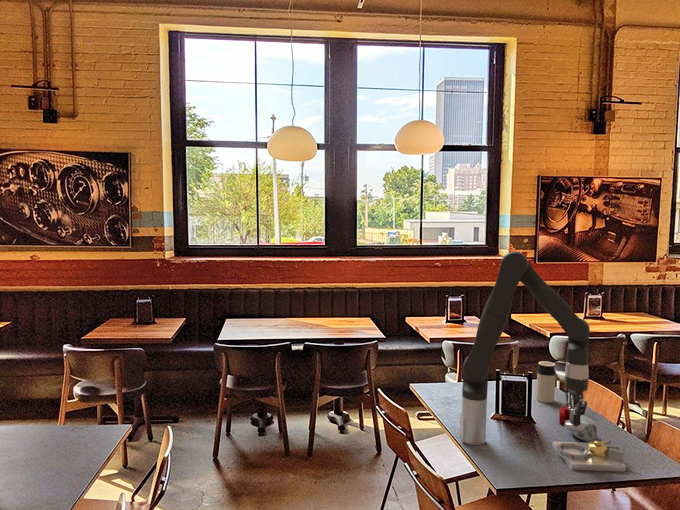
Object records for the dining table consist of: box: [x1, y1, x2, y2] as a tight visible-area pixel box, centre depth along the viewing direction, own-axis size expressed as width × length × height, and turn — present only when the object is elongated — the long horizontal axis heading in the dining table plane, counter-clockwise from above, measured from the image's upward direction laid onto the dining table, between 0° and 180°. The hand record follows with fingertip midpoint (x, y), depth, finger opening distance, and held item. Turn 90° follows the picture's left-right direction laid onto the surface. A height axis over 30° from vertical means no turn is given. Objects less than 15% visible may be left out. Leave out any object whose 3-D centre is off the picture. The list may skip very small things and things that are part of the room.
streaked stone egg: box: [569, 414, 598, 443], centre depth 203 cm, size 14×10×10 cm
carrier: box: [551, 438, 627, 473], centre depth 184 cm, size 21×18×6 cm
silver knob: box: [564, 408, 585, 432], centre depth 184 cm, size 6×6×7 cm
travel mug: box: [535, 360, 557, 404], centre depth 243 cm, size 8×8×18 cm
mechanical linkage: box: [558, 403, 569, 425], centre depth 221 cm, size 16×7×5 cm, turn 158°
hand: (574, 422), depth 184 cm, fingers closed on silver knob, 3 cm apart
